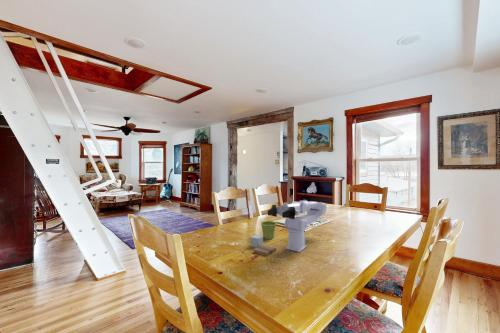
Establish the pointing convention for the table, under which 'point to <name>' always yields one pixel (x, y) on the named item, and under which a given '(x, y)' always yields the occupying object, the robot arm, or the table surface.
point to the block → (256, 241)
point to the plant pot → (268, 229)
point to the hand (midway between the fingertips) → (275, 214)
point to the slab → (264, 250)
